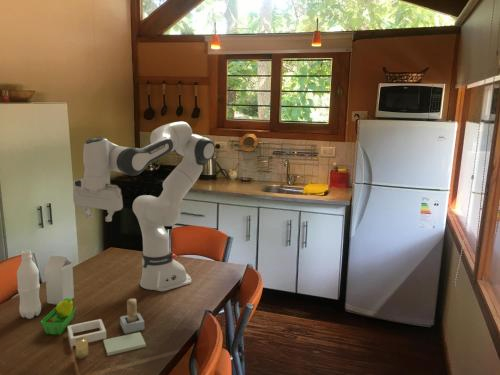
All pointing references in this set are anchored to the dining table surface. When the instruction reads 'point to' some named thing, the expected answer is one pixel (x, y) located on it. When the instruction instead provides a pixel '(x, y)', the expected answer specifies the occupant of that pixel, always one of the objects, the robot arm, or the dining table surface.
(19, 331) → the dining table surface
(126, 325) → the socket block
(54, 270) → the milk carton
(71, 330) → the tray
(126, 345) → the plate board
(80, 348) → the cylinder
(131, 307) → the dowel
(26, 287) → the water bottle
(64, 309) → the fruit basket
